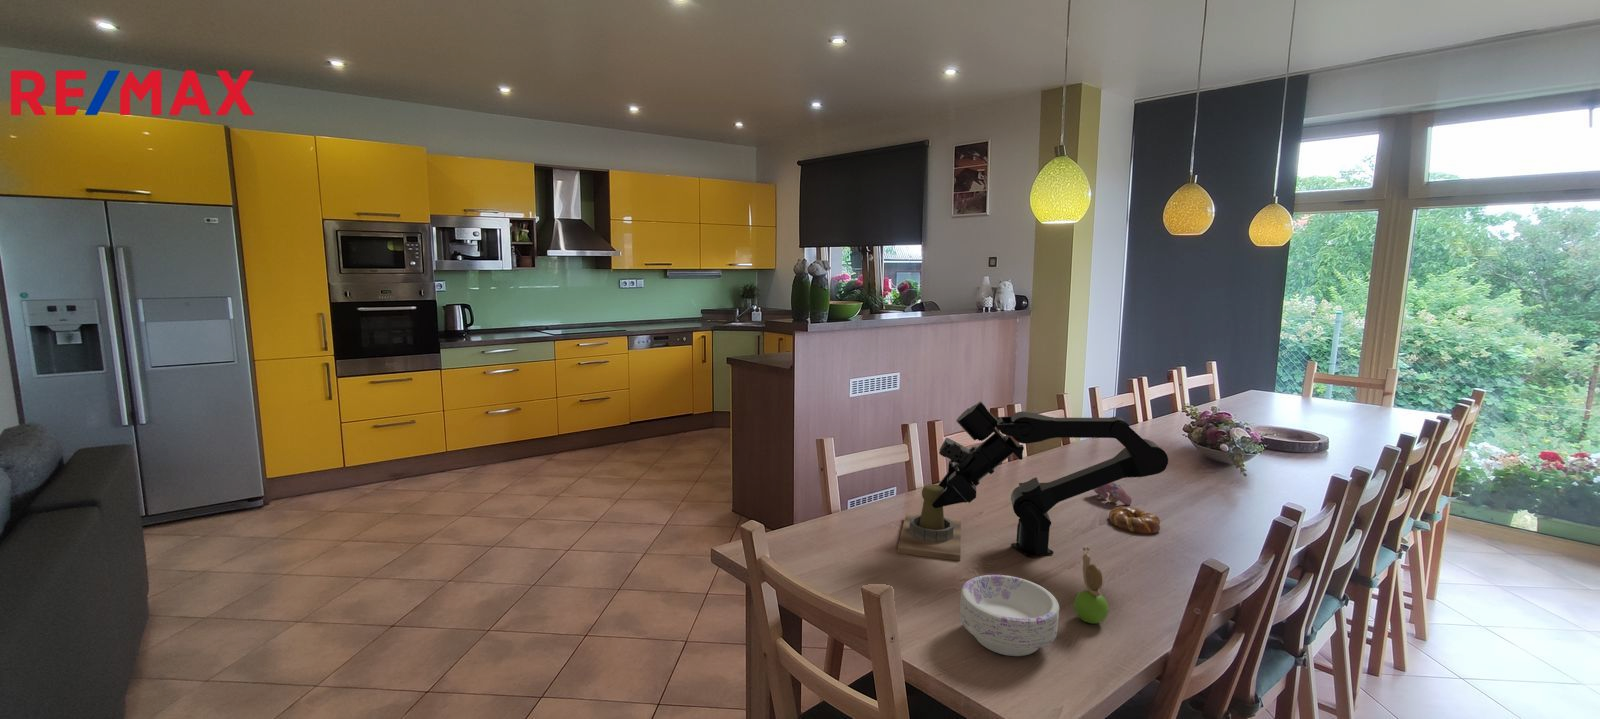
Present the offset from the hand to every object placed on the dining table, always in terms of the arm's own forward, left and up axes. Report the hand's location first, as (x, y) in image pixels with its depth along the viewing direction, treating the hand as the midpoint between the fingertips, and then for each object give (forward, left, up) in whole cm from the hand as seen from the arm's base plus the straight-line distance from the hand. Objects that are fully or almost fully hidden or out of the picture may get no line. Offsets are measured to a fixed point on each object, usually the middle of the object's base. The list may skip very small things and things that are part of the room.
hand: (934, 499), depth 147 cm
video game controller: (+9, -60, -9) cm, 61 cm away
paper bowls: (-40, +10, -9) cm, 42 cm away
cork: (0, 0, -8) cm, 8 cm away
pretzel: (-7, -52, -10) cm, 53 cm away
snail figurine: (-39, -8, -9) cm, 41 cm away
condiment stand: (0, 0, -9) cm, 9 cm away
